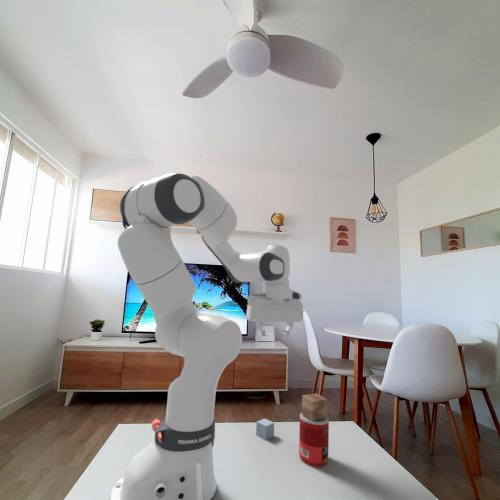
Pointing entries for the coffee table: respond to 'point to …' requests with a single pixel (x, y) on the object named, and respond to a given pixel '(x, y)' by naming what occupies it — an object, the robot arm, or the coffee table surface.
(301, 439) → the canned food
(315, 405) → the tan cube
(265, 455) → the coffee table surface
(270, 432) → the slate block
